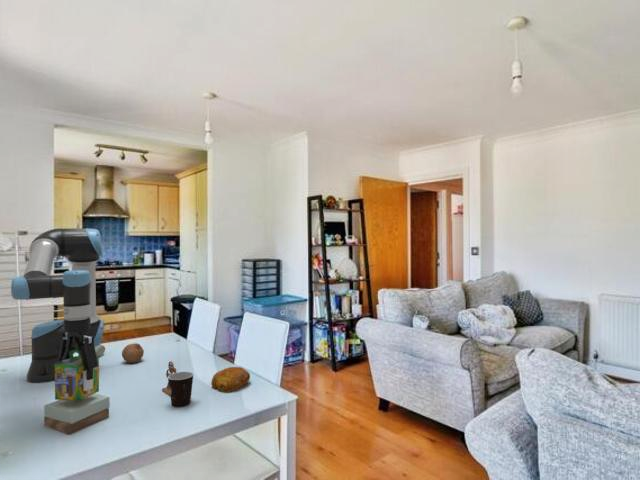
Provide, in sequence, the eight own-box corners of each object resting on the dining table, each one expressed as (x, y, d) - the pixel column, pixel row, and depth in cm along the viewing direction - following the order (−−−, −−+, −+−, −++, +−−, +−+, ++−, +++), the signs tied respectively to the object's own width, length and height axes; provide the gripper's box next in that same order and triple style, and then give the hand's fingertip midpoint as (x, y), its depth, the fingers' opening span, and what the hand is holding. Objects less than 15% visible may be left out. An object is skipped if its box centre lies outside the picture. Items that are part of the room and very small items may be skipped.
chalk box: (78, 402, 124) (78, 354, 124) (53, 400, 126) (53, 353, 126) (100, 391, 133) (100, 346, 133) (76, 389, 135) (76, 345, 135)
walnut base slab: (44, 427, 127) (44, 416, 127) (84, 411, 138) (84, 401, 138) (69, 436, 121) (68, 424, 121) (108, 419, 132) (108, 408, 132)
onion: (141, 367, 193) (150, 349, 193) (123, 367, 186) (133, 348, 186) (132, 357, 199) (141, 339, 199) (114, 356, 191) (124, 338, 191)
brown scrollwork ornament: (161, 390, 156) (161, 360, 155) (171, 388, 158) (171, 358, 158) (171, 397, 149) (170, 365, 149) (181, 394, 152) (181, 362, 152)
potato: (255, 387, 165) (257, 367, 166) (231, 395, 151) (233, 373, 152) (227, 381, 171) (229, 362, 172) (202, 388, 157) (204, 367, 158)
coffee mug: (172, 399, 147) (171, 372, 147) (196, 398, 148) (195, 371, 148) (162, 412, 136) (162, 383, 136) (188, 411, 136) (188, 382, 136)
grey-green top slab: (44, 416, 127) (44, 405, 127) (83, 401, 139) (83, 390, 139) (71, 424, 122) (71, 412, 122) (109, 407, 133) (109, 396, 133)
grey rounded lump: (95, 360, 196) (94, 339, 196) (78, 360, 196) (78, 339, 196) (107, 353, 207) (107, 334, 207) (91, 353, 207) (91, 334, 207)
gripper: (44, 317, 132) (45, 384, 132) (87, 323, 121) (87, 397, 121) (68, 313, 138) (68, 377, 138) (110, 319, 128) (110, 388, 128)
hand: (77, 386), depth 130 cm, fingers closed on chalk box, 10 cm apart
